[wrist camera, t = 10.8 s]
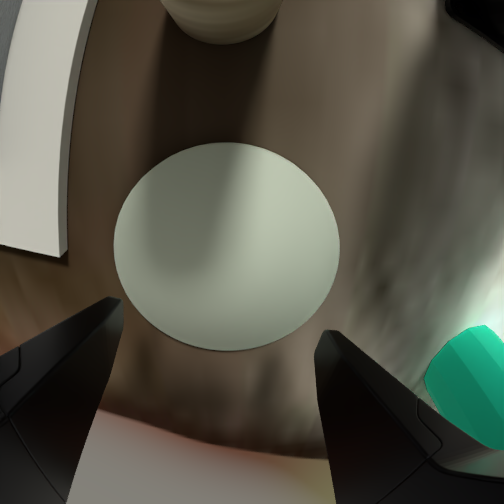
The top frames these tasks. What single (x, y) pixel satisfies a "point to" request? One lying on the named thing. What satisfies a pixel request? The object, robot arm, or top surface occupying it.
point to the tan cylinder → (222, 18)
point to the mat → (226, 246)
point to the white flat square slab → (38, 117)
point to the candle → (471, 384)
